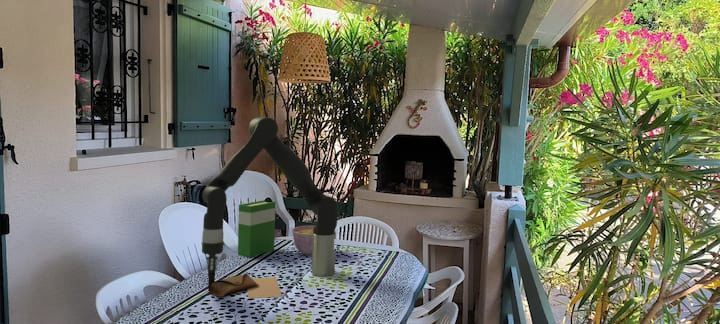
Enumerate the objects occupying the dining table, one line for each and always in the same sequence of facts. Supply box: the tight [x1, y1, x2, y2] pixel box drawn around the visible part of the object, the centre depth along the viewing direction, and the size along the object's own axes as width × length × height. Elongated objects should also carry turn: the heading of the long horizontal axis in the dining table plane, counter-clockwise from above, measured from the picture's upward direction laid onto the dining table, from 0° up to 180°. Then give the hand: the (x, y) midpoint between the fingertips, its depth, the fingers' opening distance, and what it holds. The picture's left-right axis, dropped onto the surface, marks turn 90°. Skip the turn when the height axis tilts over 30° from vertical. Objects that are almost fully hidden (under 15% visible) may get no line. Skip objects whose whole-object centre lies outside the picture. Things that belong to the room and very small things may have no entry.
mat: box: [246, 277, 283, 300], centre depth 188 cm, size 12×22×1 cm, turn 15°
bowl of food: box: [291, 225, 315, 256], centre depth 239 cm, size 20×20×12 cm
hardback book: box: [237, 200, 276, 258], centre depth 237 cm, size 18×7×24 cm, turn 150°
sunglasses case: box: [208, 272, 259, 298], centre depth 185 cm, size 18×7×7 cm
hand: (211, 285), depth 183 cm, fingers closed
